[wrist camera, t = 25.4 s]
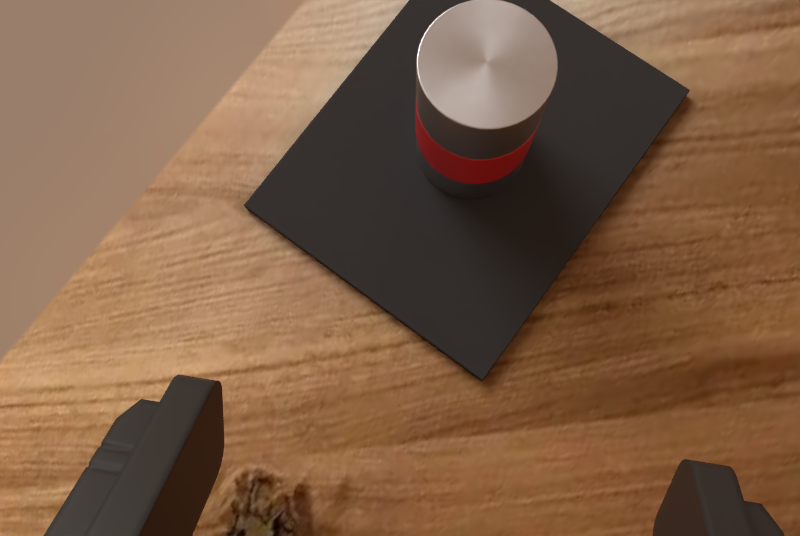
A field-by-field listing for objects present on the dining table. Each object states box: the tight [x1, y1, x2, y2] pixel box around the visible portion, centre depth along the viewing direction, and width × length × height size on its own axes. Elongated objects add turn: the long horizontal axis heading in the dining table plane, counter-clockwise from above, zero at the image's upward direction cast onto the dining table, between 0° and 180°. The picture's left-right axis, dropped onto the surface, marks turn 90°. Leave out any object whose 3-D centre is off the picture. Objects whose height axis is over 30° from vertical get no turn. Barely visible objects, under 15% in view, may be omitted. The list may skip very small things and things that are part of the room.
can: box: [416, 0, 558, 199], centre depth 37 cm, size 6×6×10 cm
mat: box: [244, 0, 689, 381], centre depth 42 cm, size 20×16×1 cm
